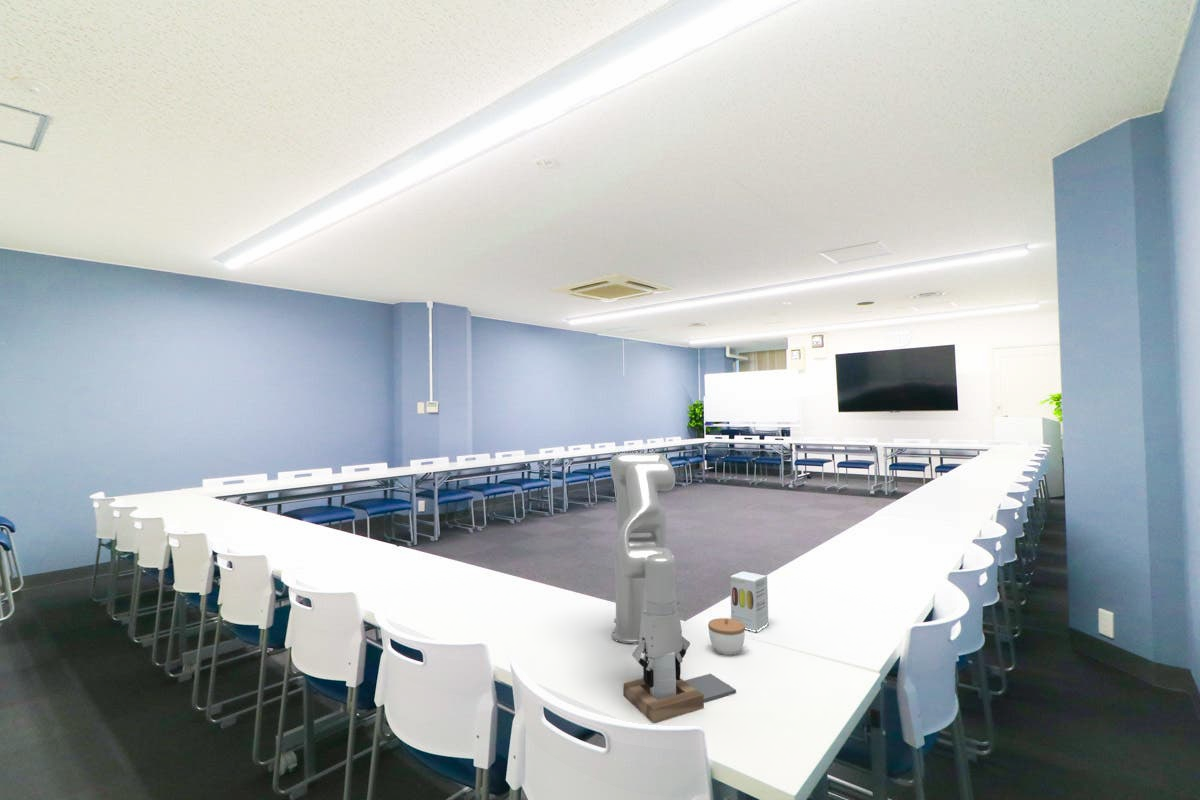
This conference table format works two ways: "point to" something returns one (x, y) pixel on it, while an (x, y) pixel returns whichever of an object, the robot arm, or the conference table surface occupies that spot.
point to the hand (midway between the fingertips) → (662, 681)
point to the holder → (663, 700)
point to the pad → (711, 687)
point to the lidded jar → (726, 635)
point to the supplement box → (749, 599)
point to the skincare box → (664, 677)
